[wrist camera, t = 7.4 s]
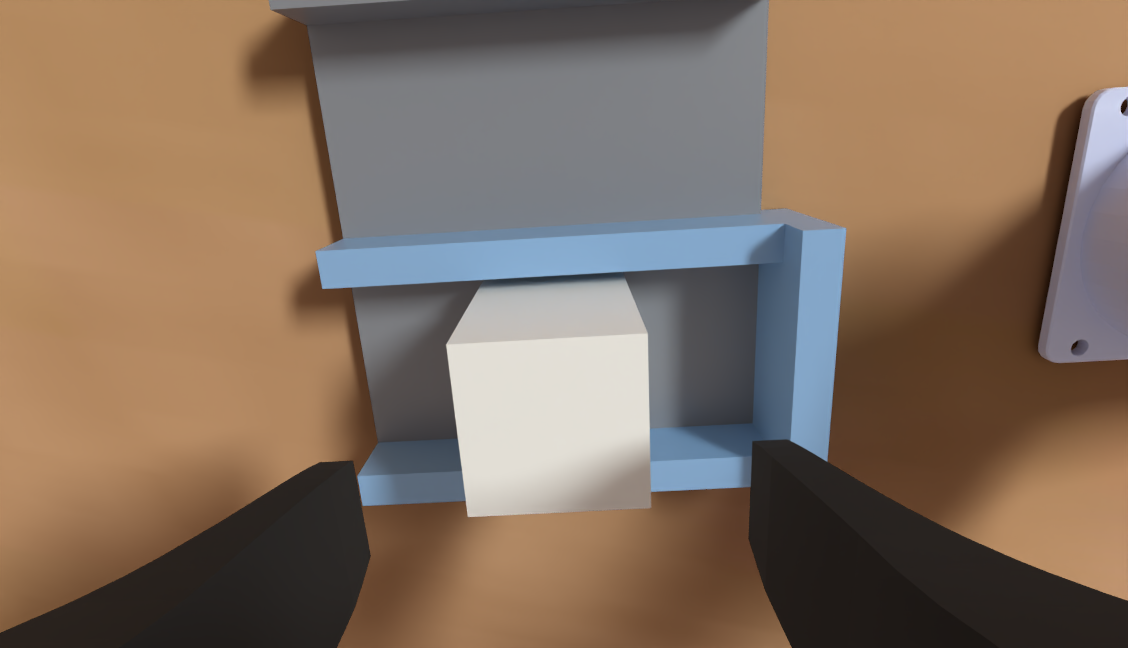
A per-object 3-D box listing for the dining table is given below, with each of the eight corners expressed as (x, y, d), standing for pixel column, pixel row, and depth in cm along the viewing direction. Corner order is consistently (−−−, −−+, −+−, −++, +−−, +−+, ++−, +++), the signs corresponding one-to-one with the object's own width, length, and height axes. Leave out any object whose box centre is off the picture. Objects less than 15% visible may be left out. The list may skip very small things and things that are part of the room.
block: (621, 269, 18) (647, 333, 12) (625, 394, 19) (651, 508, 13) (485, 277, 18) (446, 344, 12) (498, 401, 19) (467, 517, 13)
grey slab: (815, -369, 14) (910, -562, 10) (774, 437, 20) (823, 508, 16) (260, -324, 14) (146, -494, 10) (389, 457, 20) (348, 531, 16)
